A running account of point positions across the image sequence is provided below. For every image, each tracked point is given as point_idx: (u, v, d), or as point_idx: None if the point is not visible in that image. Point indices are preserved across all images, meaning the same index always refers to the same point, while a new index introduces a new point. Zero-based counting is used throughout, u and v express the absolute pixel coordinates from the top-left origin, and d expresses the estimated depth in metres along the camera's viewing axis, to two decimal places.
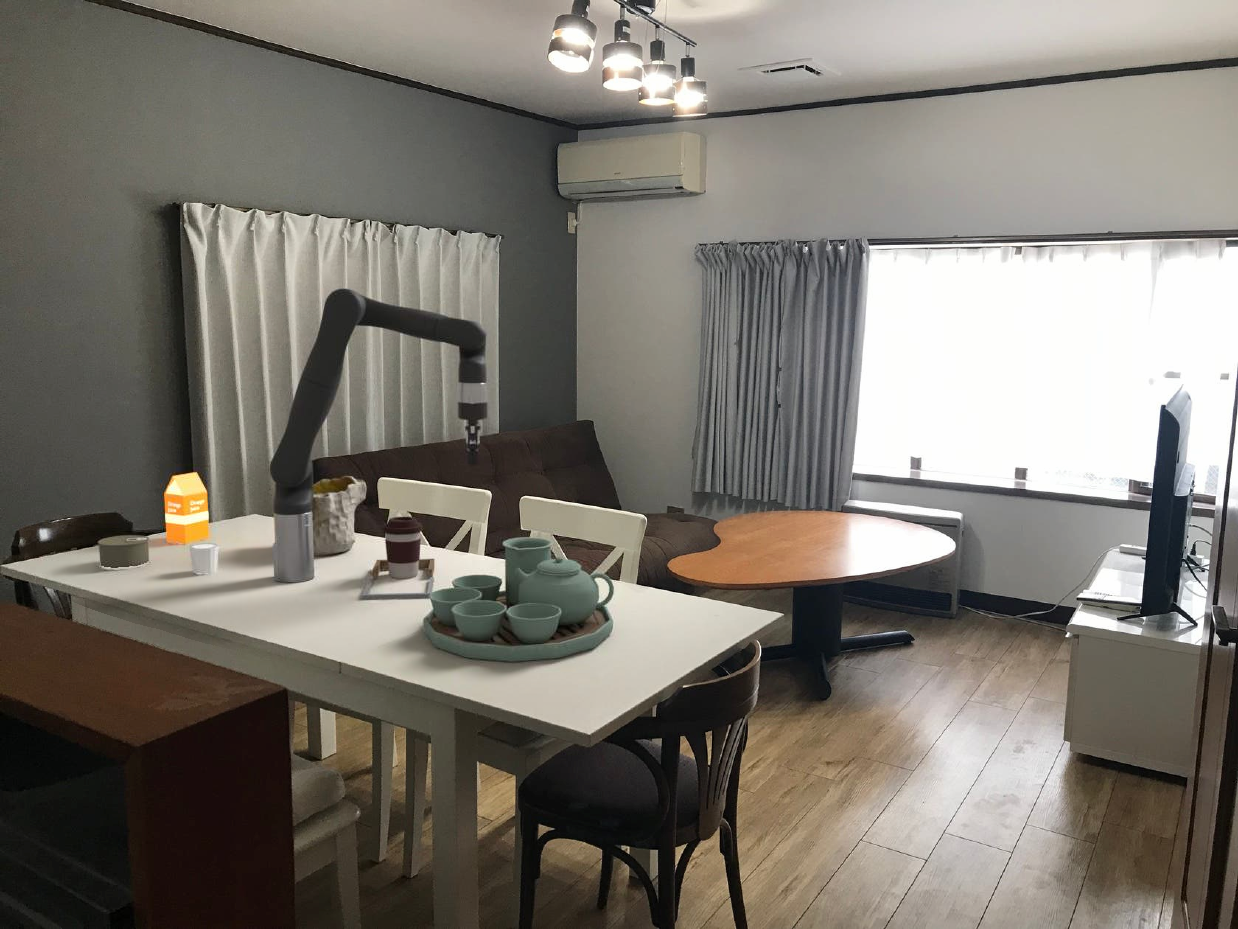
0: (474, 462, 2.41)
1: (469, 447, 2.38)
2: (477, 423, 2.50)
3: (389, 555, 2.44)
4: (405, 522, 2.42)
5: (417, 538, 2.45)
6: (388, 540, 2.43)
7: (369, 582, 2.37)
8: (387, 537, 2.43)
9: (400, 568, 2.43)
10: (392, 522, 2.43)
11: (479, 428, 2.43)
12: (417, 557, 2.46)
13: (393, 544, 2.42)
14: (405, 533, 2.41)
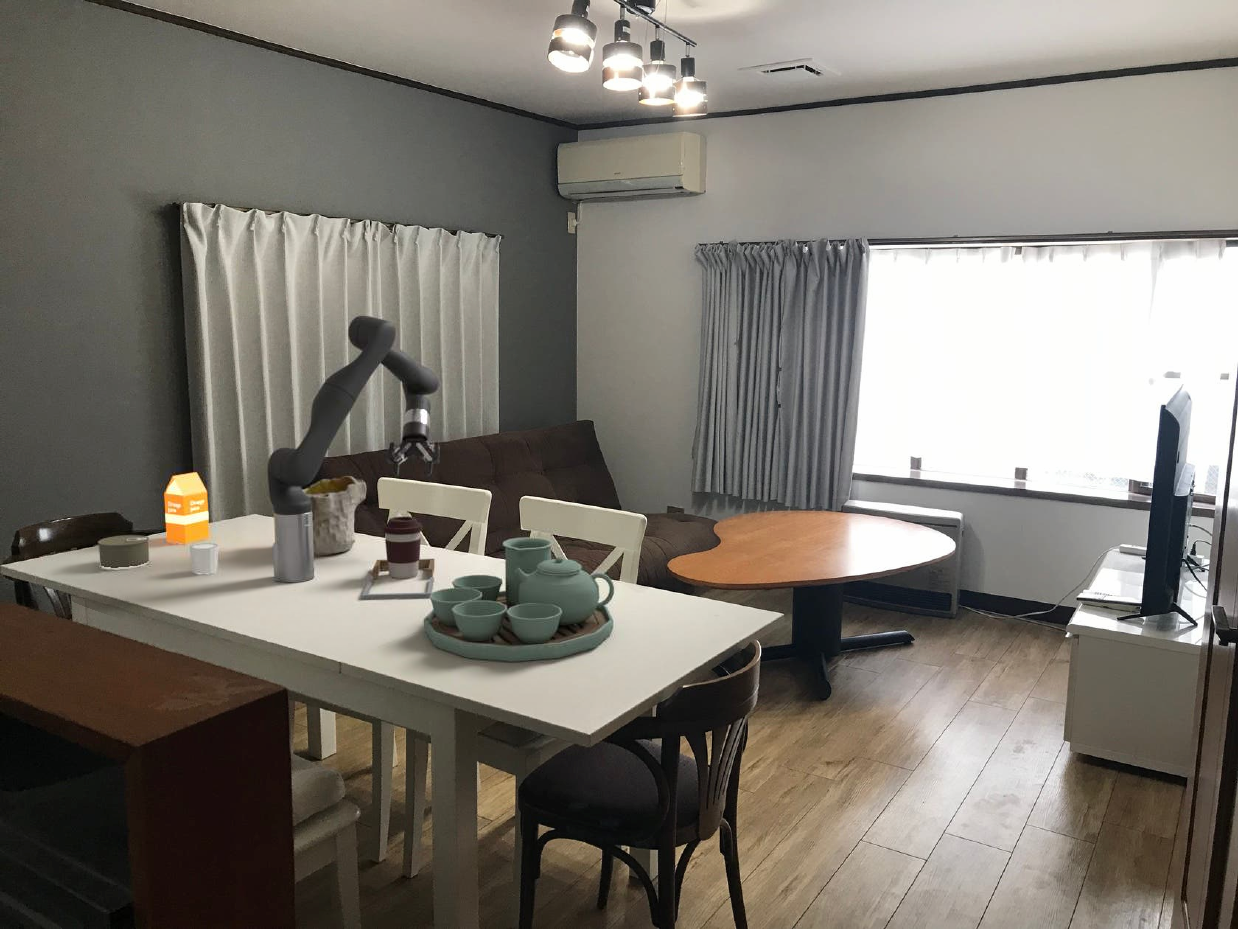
0: (431, 472, 2.67)
1: (438, 458, 2.69)
2: None
3: (389, 555, 2.44)
4: (405, 522, 2.42)
5: (417, 538, 2.45)
6: (388, 540, 2.43)
7: (369, 582, 2.37)
8: (387, 537, 2.43)
9: (400, 568, 2.43)
10: (392, 522, 2.43)
11: None
12: (417, 557, 2.46)
13: (393, 544, 2.42)
14: (405, 533, 2.41)
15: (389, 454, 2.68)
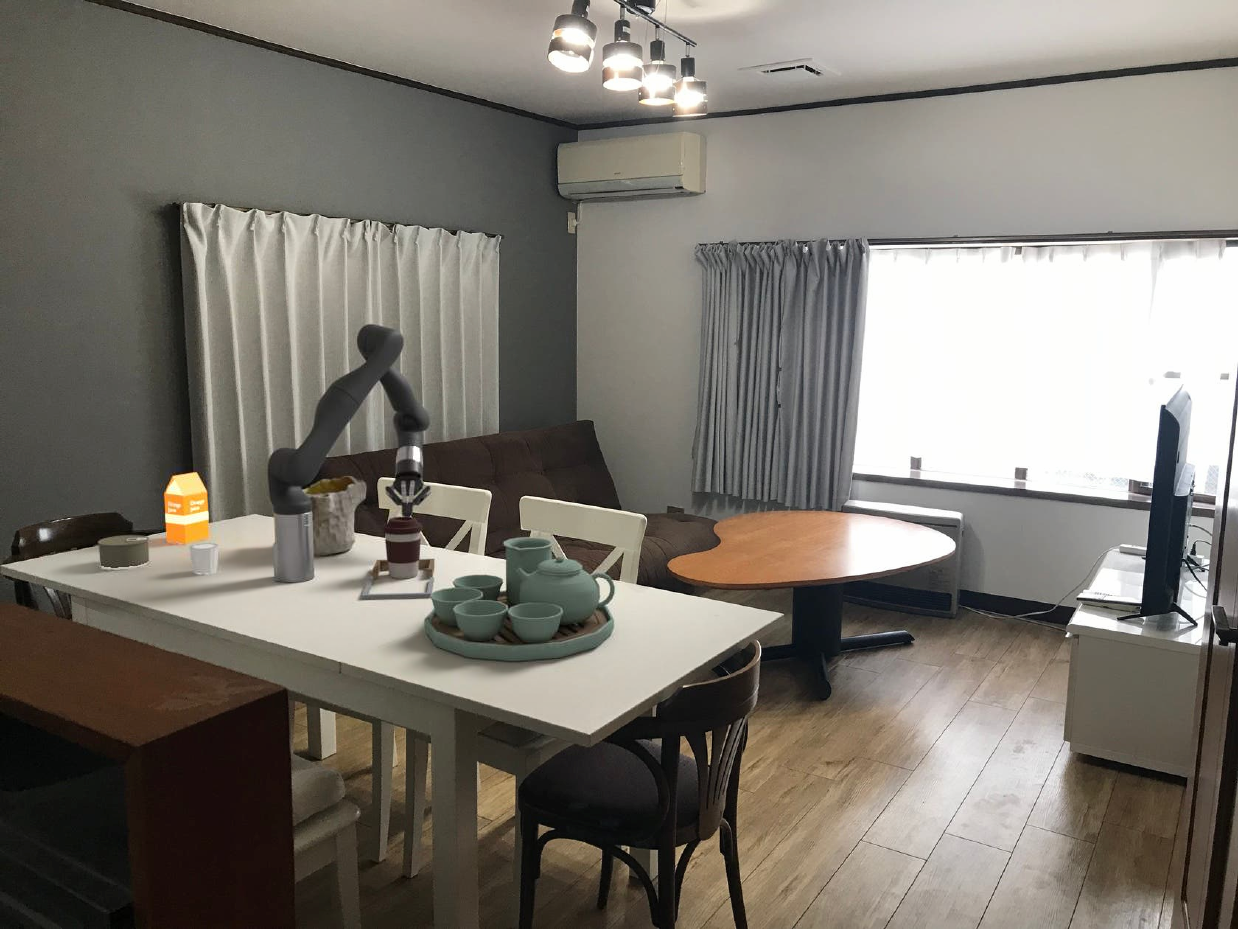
0: None
1: (418, 500, 2.65)
2: None
3: (389, 555, 2.44)
4: (405, 522, 2.42)
5: (417, 538, 2.45)
6: (388, 540, 2.43)
7: (369, 582, 2.37)
8: (387, 537, 2.43)
9: (400, 568, 2.43)
10: (392, 522, 2.43)
11: None
12: (417, 557, 2.46)
13: (393, 544, 2.42)
14: (405, 533, 2.41)
15: (394, 496, 2.64)
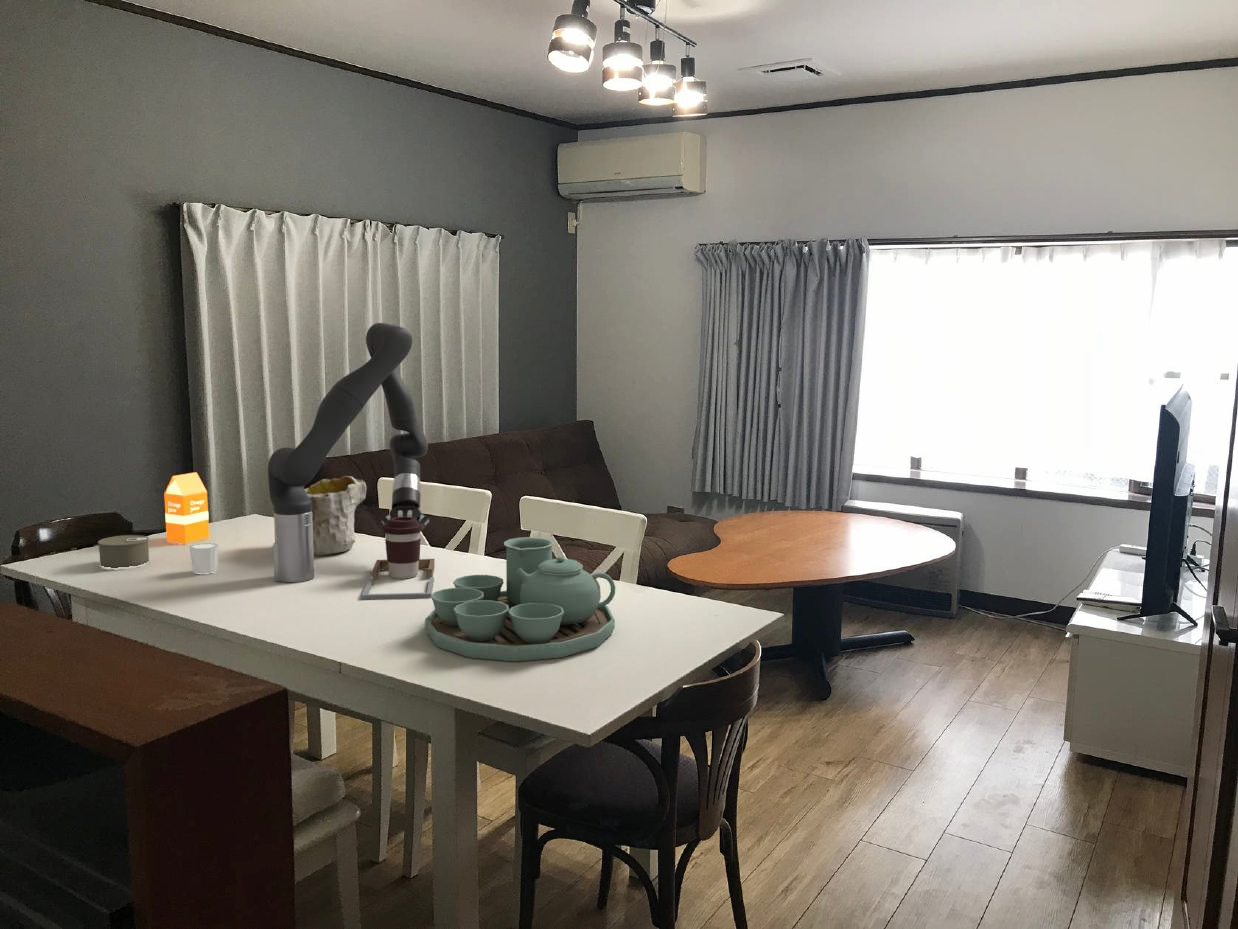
0: None
1: None
2: None
3: (389, 555, 2.44)
4: (405, 522, 2.42)
5: (417, 538, 2.45)
6: (388, 540, 2.43)
7: (369, 582, 2.37)
8: (387, 537, 2.43)
9: (400, 568, 2.43)
10: (392, 522, 2.43)
11: None
12: (417, 557, 2.45)
13: (393, 544, 2.42)
14: (405, 533, 2.41)
15: None
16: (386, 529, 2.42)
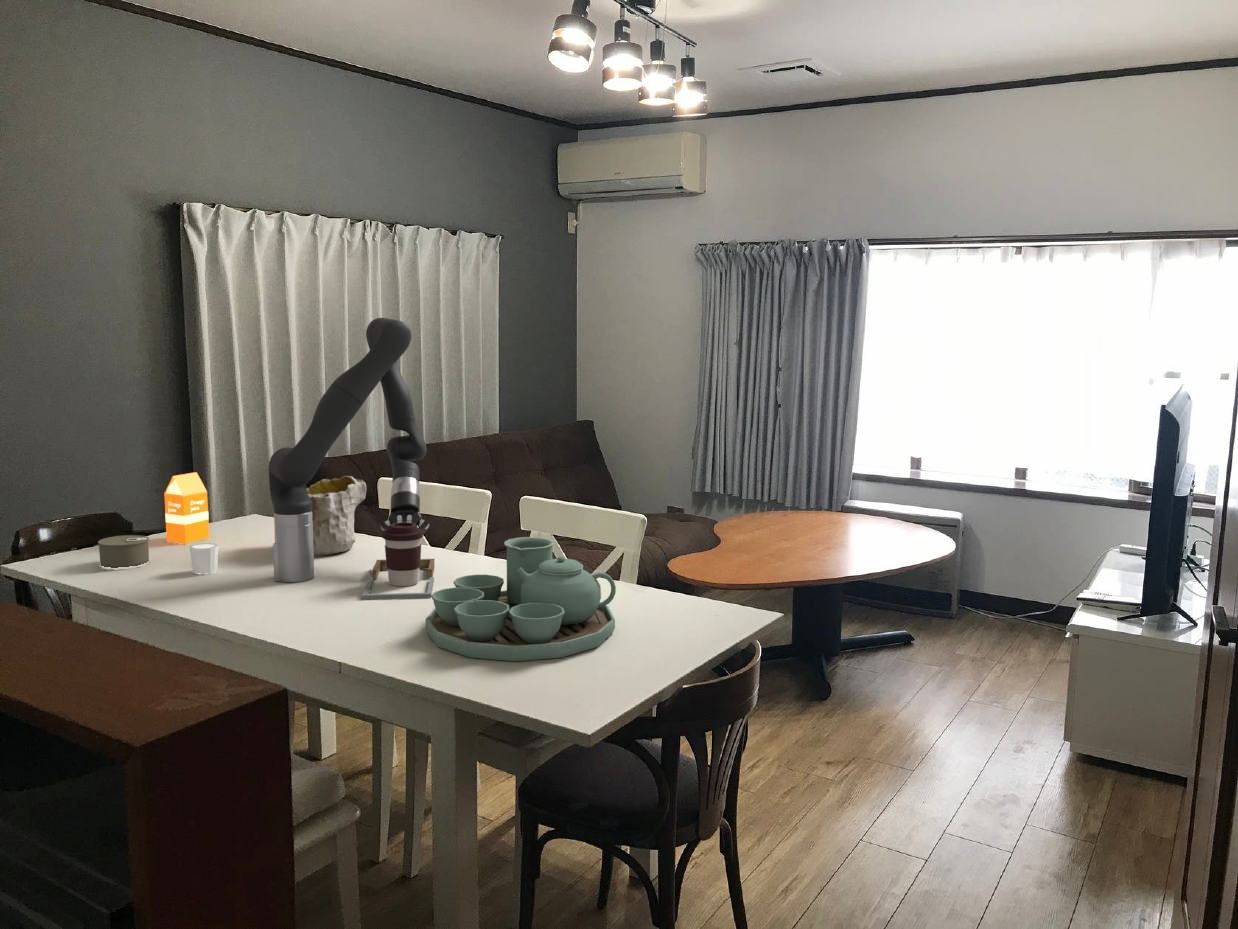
0: None
1: None
2: None
3: (389, 562, 2.36)
4: (405, 528, 2.35)
5: (417, 545, 2.38)
6: (388, 547, 2.36)
7: (369, 582, 2.37)
8: (387, 543, 2.36)
9: (400, 575, 2.36)
10: (392, 528, 2.35)
11: None
12: (417, 564, 2.38)
13: (393, 551, 2.35)
14: (405, 539, 2.34)
15: None
16: (385, 535, 2.35)
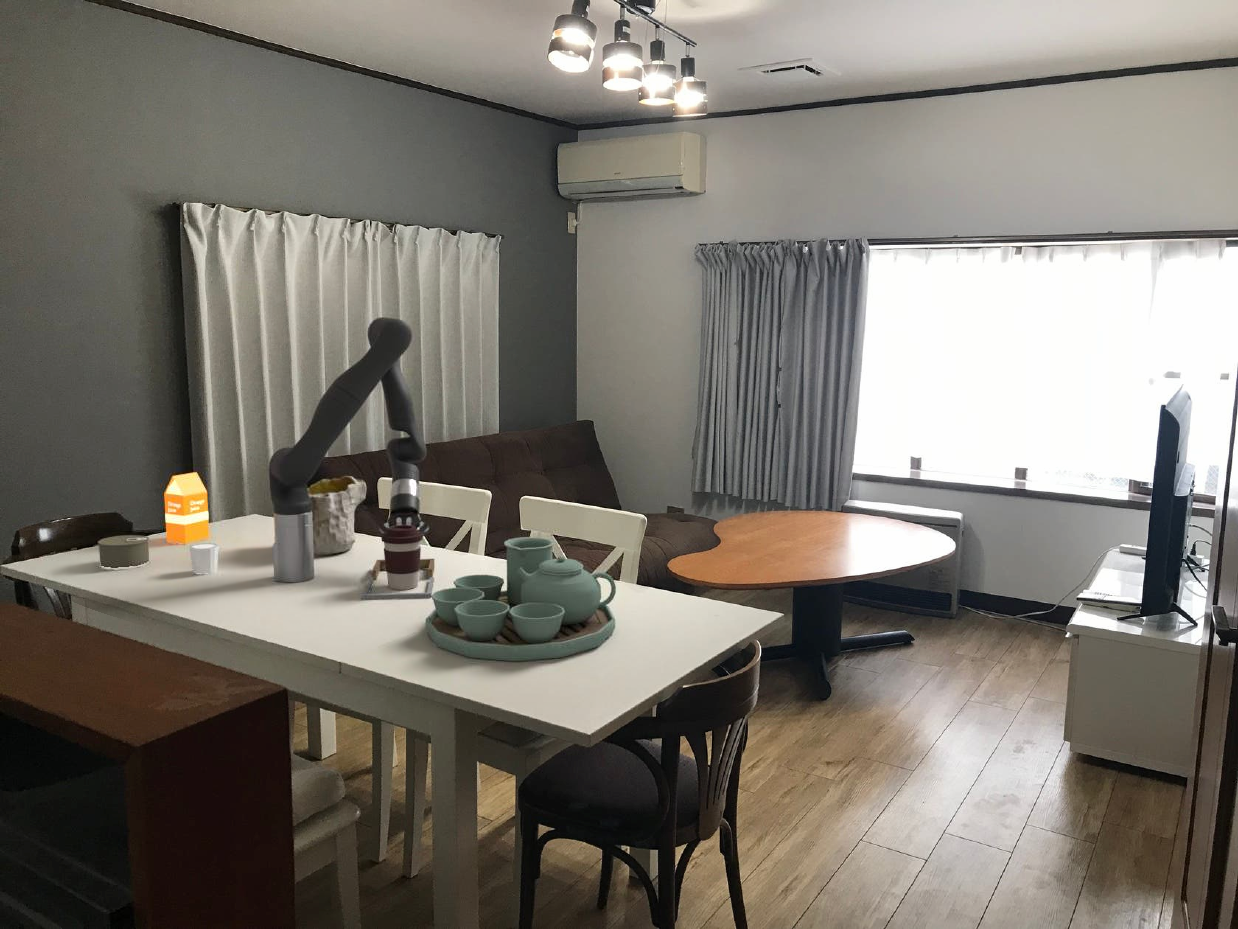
0: None
1: None
2: None
3: (388, 565, 2.34)
4: (404, 531, 2.32)
5: (417, 547, 2.35)
6: (387, 549, 2.33)
7: (369, 582, 2.37)
8: (386, 546, 2.33)
9: (399, 579, 2.33)
10: (391, 531, 2.33)
11: None
12: (417, 567, 2.35)
13: (392, 554, 2.32)
14: (404, 542, 2.31)
15: None
16: (384, 538, 2.32)
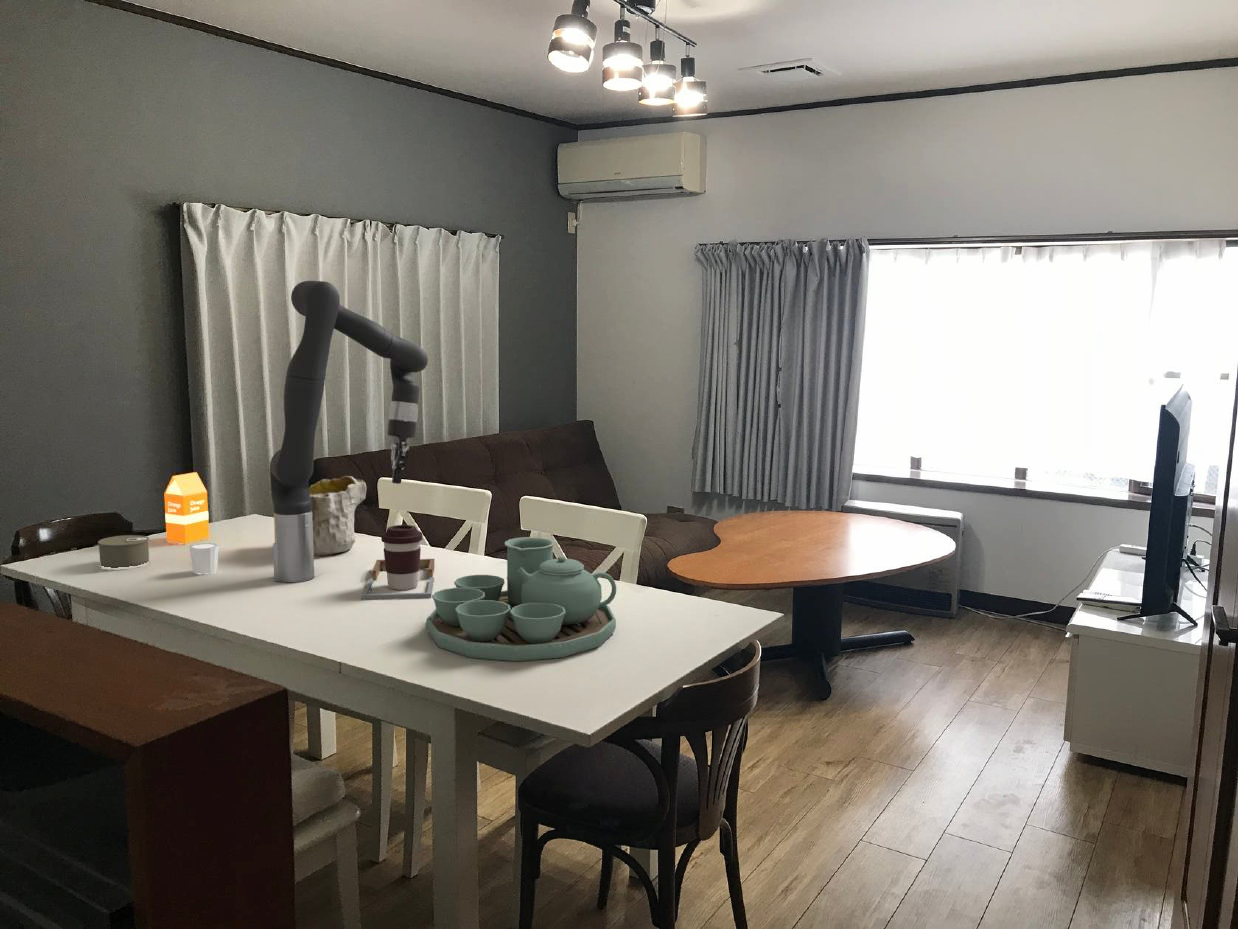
0: (399, 480, 2.57)
1: (397, 466, 2.55)
2: None
3: (387, 565, 2.33)
4: (404, 531, 2.32)
5: (417, 548, 2.34)
6: (386, 550, 2.33)
7: (369, 582, 2.37)
8: (385, 546, 2.33)
9: (399, 579, 2.33)
10: (391, 531, 2.32)
11: (407, 447, 2.58)
12: (417, 567, 2.35)
13: (391, 554, 2.32)
14: (404, 542, 2.31)
15: (391, 461, 2.61)
16: (384, 538, 2.32)
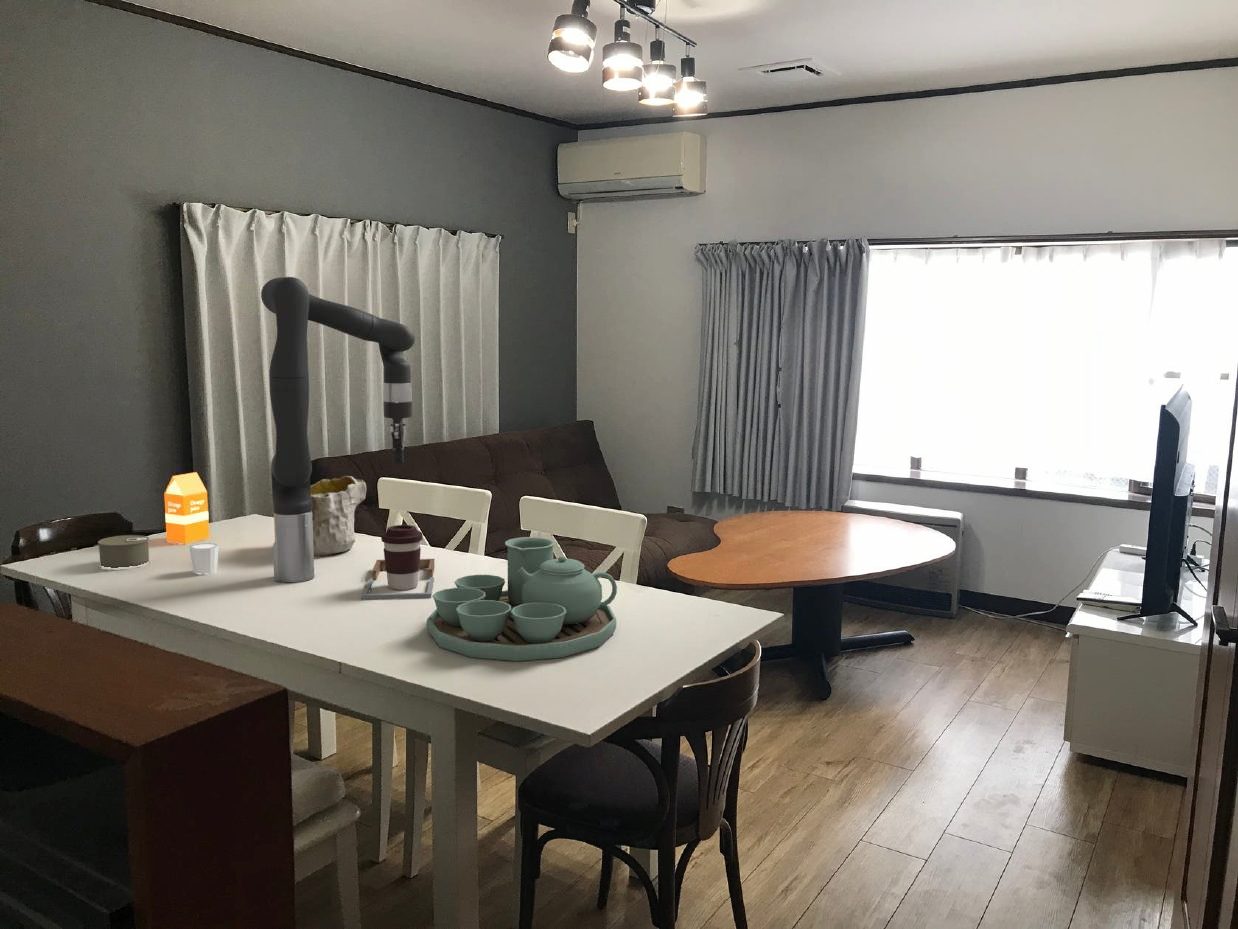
0: (400, 460, 2.58)
1: (394, 448, 2.55)
2: None
3: (387, 565, 2.33)
4: (404, 531, 2.32)
5: (417, 548, 2.34)
6: (386, 550, 2.33)
7: (369, 582, 2.37)
8: (385, 546, 2.33)
9: (399, 579, 2.33)
10: (391, 531, 2.32)
11: (404, 428, 2.56)
12: (417, 567, 2.35)
13: (391, 554, 2.32)
14: (404, 542, 2.31)
15: None
16: (384, 538, 2.32)
